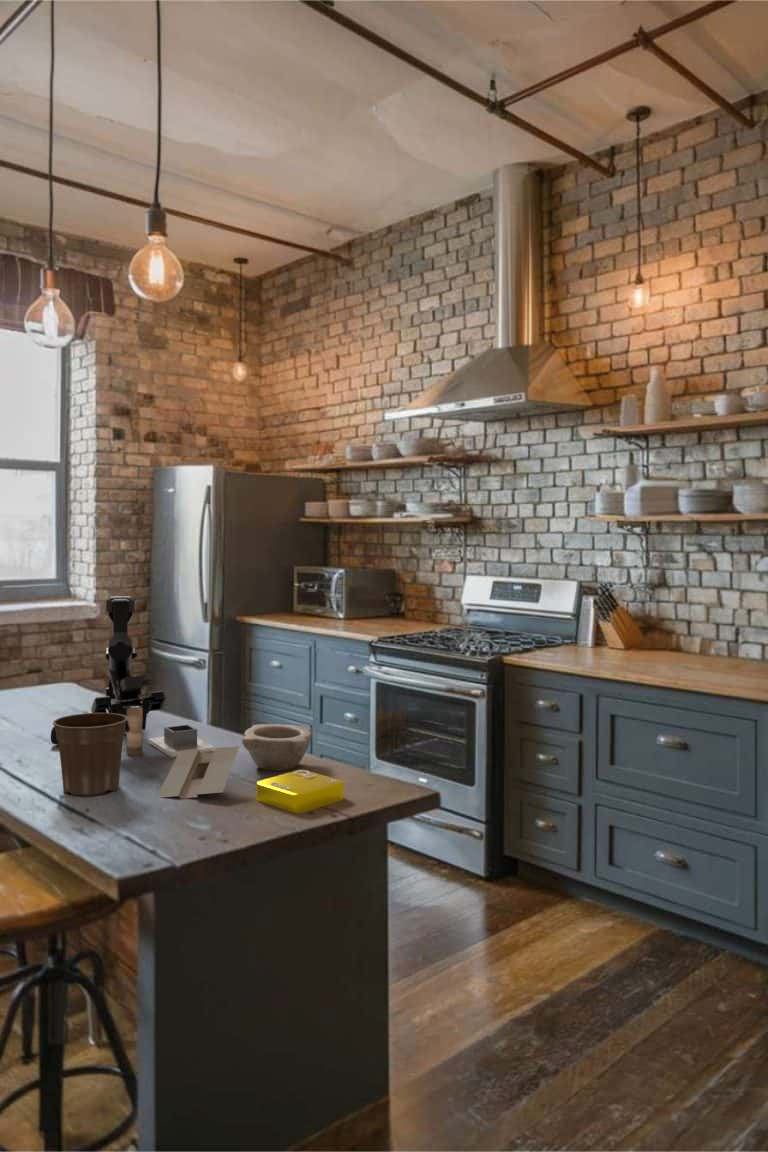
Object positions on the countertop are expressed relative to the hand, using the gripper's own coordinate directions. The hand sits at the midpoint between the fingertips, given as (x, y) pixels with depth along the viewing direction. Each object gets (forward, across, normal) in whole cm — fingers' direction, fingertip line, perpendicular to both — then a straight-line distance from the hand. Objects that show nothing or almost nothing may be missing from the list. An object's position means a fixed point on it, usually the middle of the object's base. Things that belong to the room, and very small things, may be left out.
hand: (136, 730), depth 228 cm
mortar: (+26, +26, -16) cm, 40 cm away
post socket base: (+4, +13, +6) cm, 14 cm away
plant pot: (+22, -18, -12) cm, 31 cm away
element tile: (+44, +19, -34) cm, 59 cm away
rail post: (+4, 0, +6) cm, 7 cm away
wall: (+32, +2, -22) cm, 39 cm away
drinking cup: (-13, -16, +18) cm, 27 cm away
